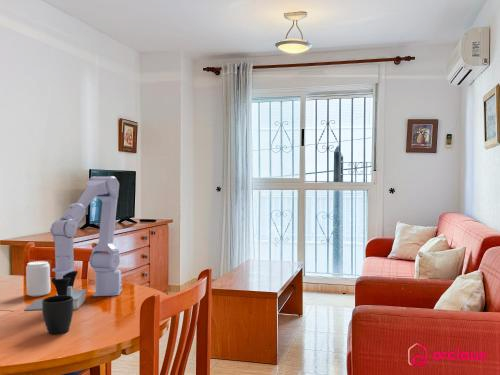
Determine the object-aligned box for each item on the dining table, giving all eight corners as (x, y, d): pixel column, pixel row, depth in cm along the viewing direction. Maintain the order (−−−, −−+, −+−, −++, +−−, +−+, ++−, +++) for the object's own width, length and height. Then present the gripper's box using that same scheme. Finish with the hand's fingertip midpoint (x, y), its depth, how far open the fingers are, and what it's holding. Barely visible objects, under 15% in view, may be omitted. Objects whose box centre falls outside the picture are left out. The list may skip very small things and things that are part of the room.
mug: (72, 321, 146) (71, 291, 146) (74, 333, 135) (73, 300, 135) (43, 325, 143) (42, 294, 143) (43, 338, 132) (42, 304, 132)
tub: (85, 299, 171) (85, 291, 171) (77, 309, 159) (77, 300, 159) (62, 300, 170) (62, 292, 170) (52, 310, 158) (52, 301, 158)
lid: (86, 291, 171) (86, 279, 171) (77, 300, 159) (77, 288, 159) (61, 292, 170) (61, 280, 170) (50, 302, 158) (50, 289, 158)
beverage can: (54, 291, 183) (53, 260, 183) (43, 297, 175) (42, 265, 175) (34, 291, 184) (33, 260, 184) (22, 297, 176) (21, 264, 176)
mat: (59, 299, 172) (59, 298, 172) (48, 309, 160) (48, 308, 160) (36, 300, 172) (36, 299, 172) (23, 310, 159) (23, 309, 159)
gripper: (58, 252, 166) (59, 290, 167) (45, 259, 152) (46, 302, 152) (79, 251, 167) (80, 290, 168) (68, 259, 153) (69, 301, 153)
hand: (65, 295), depth 160 cm, fingers open, 7 cm apart
